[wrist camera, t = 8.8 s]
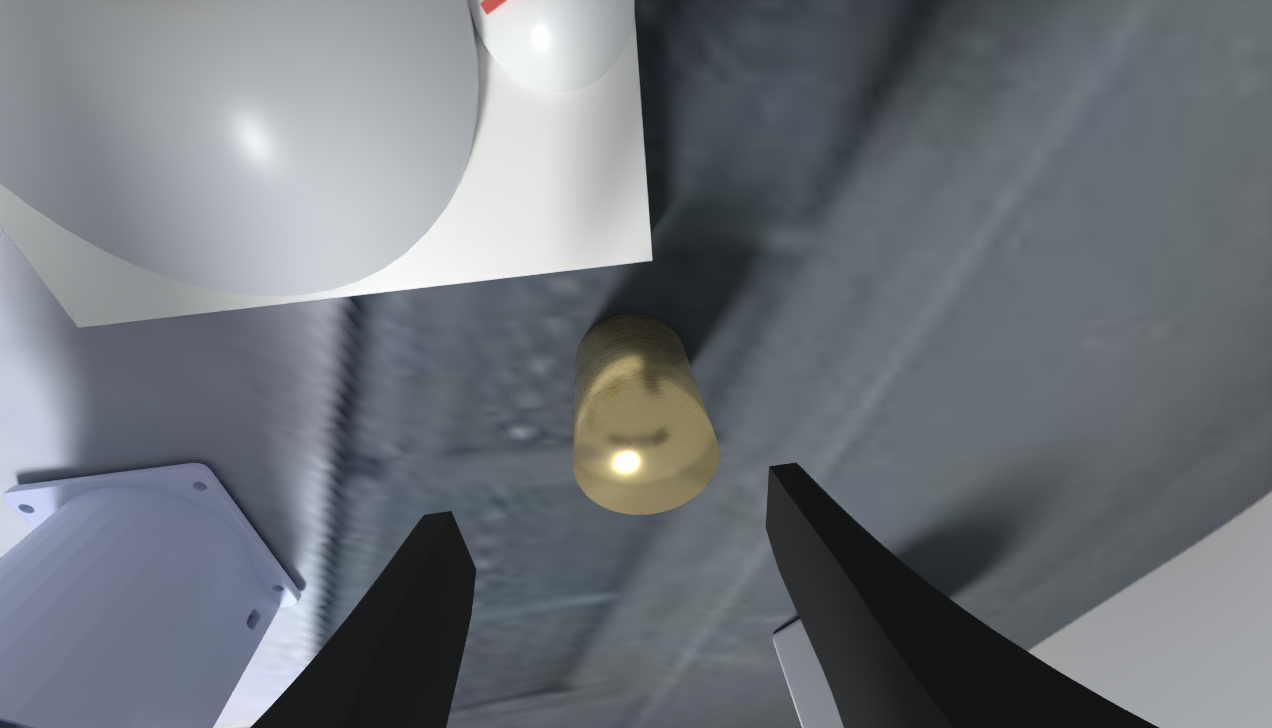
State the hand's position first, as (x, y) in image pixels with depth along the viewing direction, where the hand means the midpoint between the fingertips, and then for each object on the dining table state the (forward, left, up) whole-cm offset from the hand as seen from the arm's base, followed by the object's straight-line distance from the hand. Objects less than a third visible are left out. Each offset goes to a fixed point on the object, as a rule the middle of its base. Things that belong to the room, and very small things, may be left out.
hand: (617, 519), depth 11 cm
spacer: (-2, -1, -10) cm, 10 cm away
